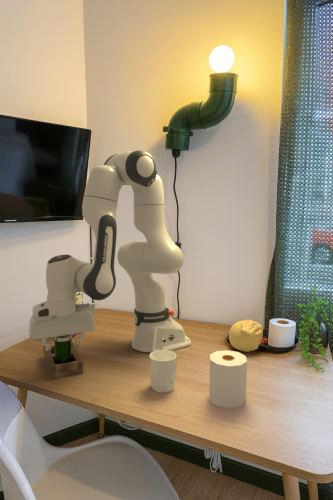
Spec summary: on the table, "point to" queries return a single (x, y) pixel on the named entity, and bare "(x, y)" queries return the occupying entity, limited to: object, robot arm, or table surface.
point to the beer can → (63, 349)
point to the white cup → (163, 370)
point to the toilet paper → (228, 378)
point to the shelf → (63, 364)
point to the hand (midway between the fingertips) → (63, 348)
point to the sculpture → (246, 335)
